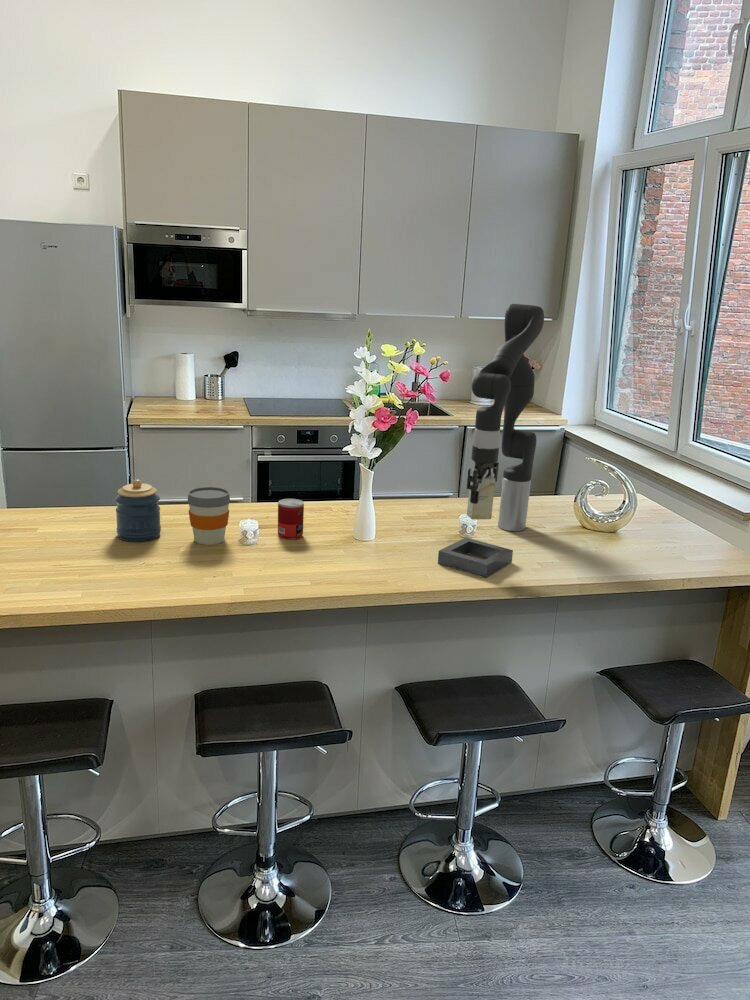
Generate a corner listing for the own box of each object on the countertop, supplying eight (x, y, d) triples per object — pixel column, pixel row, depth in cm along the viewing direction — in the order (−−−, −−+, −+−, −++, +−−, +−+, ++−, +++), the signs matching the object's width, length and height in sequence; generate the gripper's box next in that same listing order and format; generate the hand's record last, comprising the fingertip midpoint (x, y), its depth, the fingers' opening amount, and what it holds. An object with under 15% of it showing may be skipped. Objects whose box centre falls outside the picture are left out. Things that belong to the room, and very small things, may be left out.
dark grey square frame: (464, 549, 240) (465, 537, 239) (511, 562, 231) (513, 550, 230) (437, 563, 228) (438, 550, 227) (486, 578, 219) (487, 565, 218)
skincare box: (471, 520, 223) (475, 479, 219) (466, 515, 227) (469, 475, 223) (492, 519, 224) (496, 478, 221) (486, 514, 228) (489, 474, 225)
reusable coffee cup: (235, 534, 242) (235, 488, 238) (223, 548, 230) (223, 500, 226) (195, 531, 243) (195, 485, 239) (182, 545, 231) (181, 496, 227)
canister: (154, 543, 231) (152, 486, 226) (110, 541, 231) (107, 484, 226) (166, 529, 244) (164, 475, 238) (124, 527, 244) (122, 472, 238)
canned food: (301, 540, 241) (302, 506, 237) (275, 538, 241) (276, 505, 237) (304, 532, 248) (305, 499, 245) (279, 530, 248) (279, 497, 245)
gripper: (486, 438, 227) (481, 492, 232) (461, 446, 216) (456, 502, 220) (509, 442, 223) (503, 497, 227) (485, 451, 211) (480, 508, 216)
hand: (480, 500), depth 224 cm, fingers closed on skincare box, 7 cm apart
